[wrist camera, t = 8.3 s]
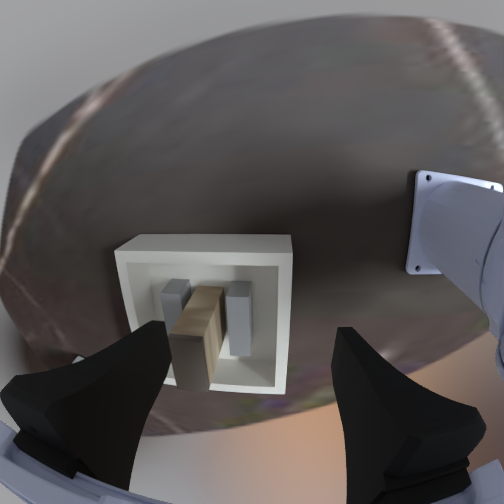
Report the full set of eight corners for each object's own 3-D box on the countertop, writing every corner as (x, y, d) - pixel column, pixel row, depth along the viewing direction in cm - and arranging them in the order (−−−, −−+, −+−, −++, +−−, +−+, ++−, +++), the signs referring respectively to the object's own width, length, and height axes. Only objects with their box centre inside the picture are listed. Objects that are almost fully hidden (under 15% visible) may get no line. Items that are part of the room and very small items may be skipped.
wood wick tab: (223, 286, 21) (200, 342, 15) (226, 331, 23) (207, 392, 16) (198, 285, 22) (166, 339, 15) (202, 329, 23) (177, 388, 16)
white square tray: (290, 234, 20) (292, 253, 17) (285, 362, 24) (284, 394, 20) (139, 234, 22) (114, 250, 18) (160, 353, 25) (145, 380, 21)
